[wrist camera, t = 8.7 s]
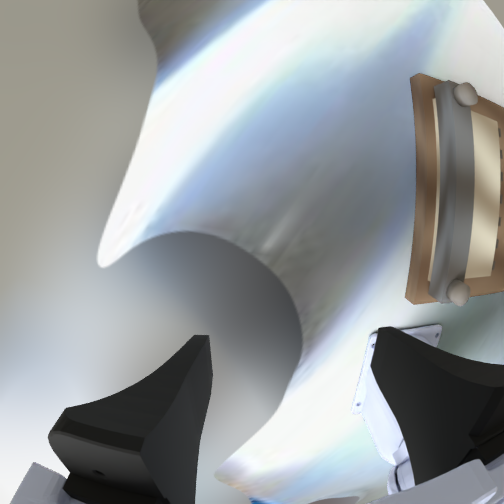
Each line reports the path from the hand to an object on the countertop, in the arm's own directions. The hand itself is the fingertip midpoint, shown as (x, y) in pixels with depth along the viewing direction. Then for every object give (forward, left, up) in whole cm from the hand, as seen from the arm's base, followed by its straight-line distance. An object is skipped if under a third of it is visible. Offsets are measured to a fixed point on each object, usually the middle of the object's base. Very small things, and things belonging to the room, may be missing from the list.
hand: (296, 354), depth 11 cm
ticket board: (+7, -21, -9) cm, 24 cm away
